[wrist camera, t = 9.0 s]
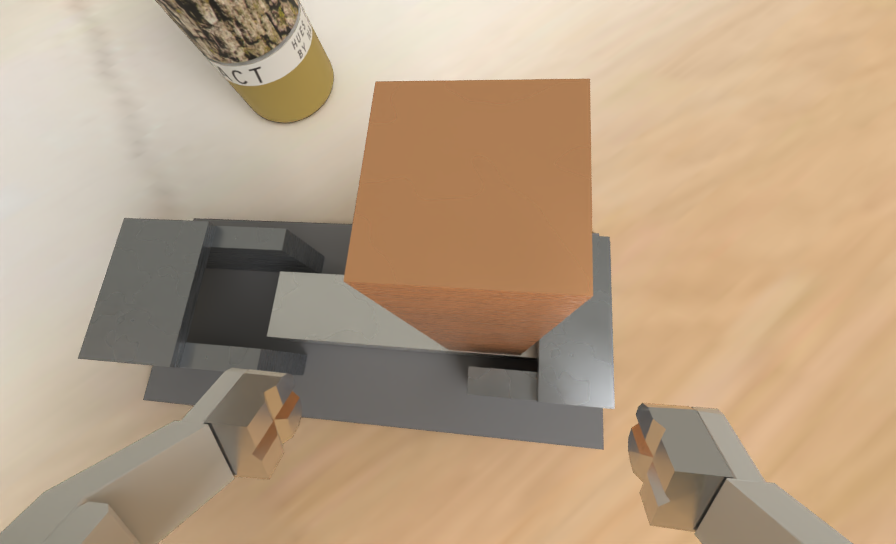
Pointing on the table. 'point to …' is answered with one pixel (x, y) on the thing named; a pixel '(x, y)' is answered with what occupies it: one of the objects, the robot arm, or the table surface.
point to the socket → (566, 353)
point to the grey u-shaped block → (184, 293)
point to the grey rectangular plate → (363, 364)
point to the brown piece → (459, 223)
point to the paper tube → (260, 52)
